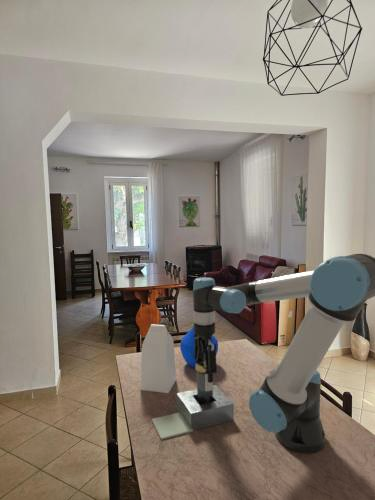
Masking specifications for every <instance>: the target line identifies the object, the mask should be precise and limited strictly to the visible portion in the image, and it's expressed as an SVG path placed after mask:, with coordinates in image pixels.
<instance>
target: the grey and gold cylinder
mask: <svg viewBox="0 0 375 500" xmlns="http://www.w3.org/2000/svg"><path fill="white" fill-rule="evenodd" d="M195 371H196V389H197V402H198V404H199V405H201V404H206V403H210V402H213V390H211V391H205V372H206V365H205V362H199V363H197V364H196V365H195Z"/></svg>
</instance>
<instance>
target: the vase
mask: <svg viewBox="0 0 375 500" xmlns="http://www.w3.org/2000/svg"><path fill="white" fill-rule="evenodd" d="M194 334H195V333H194V325H193V326H192V328H191V329H190V330H189V331H187V333H186V334H185V335H184V336H183V337H181V341H180V345H179V348H180V352H181V355H182V357H183V359H184V361H185V363H186V364H187V365H189V366H190V367H192V368H195V365H196V364H197V363H196V359H194ZM211 338H212V344H216V355H218V351H219V343H218V339H217V338H216V336H215V335H214V334H213V335H212V336H211ZM206 350H208V349H206ZM196 356H197V355H196ZM204 360H205V358H204Z"/></svg>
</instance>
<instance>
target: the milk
mask: <svg viewBox="0 0 375 500" xmlns="http://www.w3.org/2000/svg"><path fill="white" fill-rule="evenodd" d="M175 359H176V357H175V345H174V337H173V336H172V334H171V333H170V332H169V331H168V330H167V327H166V325H165V324H157V323H156V324H155V323H151V324H150V327H149V329H148V331H147V333H146V335H145V338H144V340H143V342H142V345H141V363H140V366H141V368H140V391H148V392H157V393H163V394H164V393H165V394H169V393H170V391H171V389H172V388H173V386H174V384H175V383H176V381H177V374H176V373H177V372H176V360H175Z"/></svg>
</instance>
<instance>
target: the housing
mask: <svg viewBox="0 0 375 500" xmlns="http://www.w3.org/2000/svg"><path fill="white" fill-rule="evenodd" d="M234 408H235V407H234V402H233V401H232V400H231V399H230V398H229V397H228V396H227V394H225V393H224V392H223V391H222V390H221V389H220V388H219V387H218V386H217V385H216V384H215V385H214V384H213V402H210V403H206V404H201V405H199V404H198V402H197V388H195V389H190V390H187V391H186V390H185V391H182V392H177V393H176V409H177V412H178V413H179V412H180V413H181V414H182V416H183V417H184V419H185V421H186V422H187V424H188V425H189V427H190V428H191V429H193V431H196V430H200V429H204V428H208V427H211V426H212V427H213V426H215V425H220V424H223V423H226V422H231V421H233V420H235V419H234V418H235V417H234V416H235V415H234V412H235V411H234V410H235V409H234Z"/></svg>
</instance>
